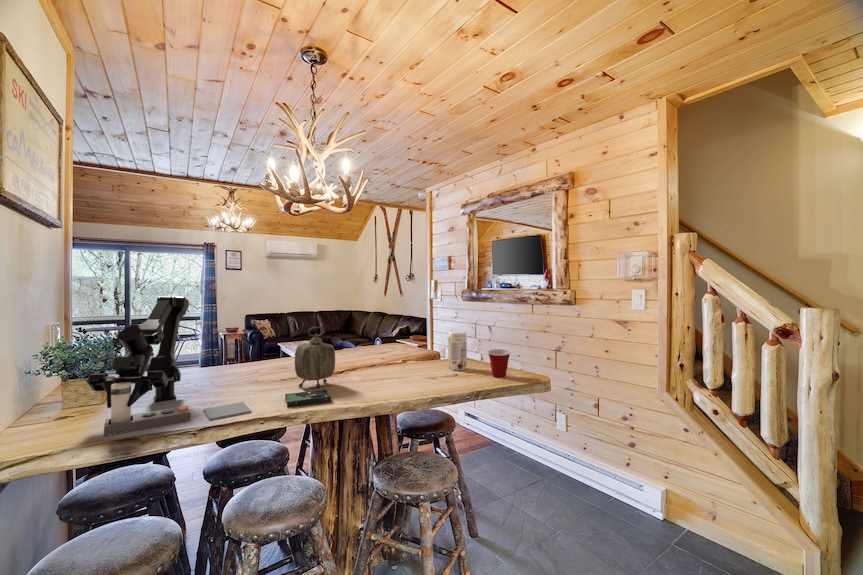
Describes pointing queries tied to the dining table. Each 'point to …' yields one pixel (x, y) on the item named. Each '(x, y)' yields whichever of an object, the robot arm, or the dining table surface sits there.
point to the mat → (226, 411)
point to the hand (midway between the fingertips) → (118, 406)
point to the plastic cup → (499, 362)
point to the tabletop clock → (314, 360)
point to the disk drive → (307, 398)
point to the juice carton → (457, 350)
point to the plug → (120, 402)
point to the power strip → (149, 420)
